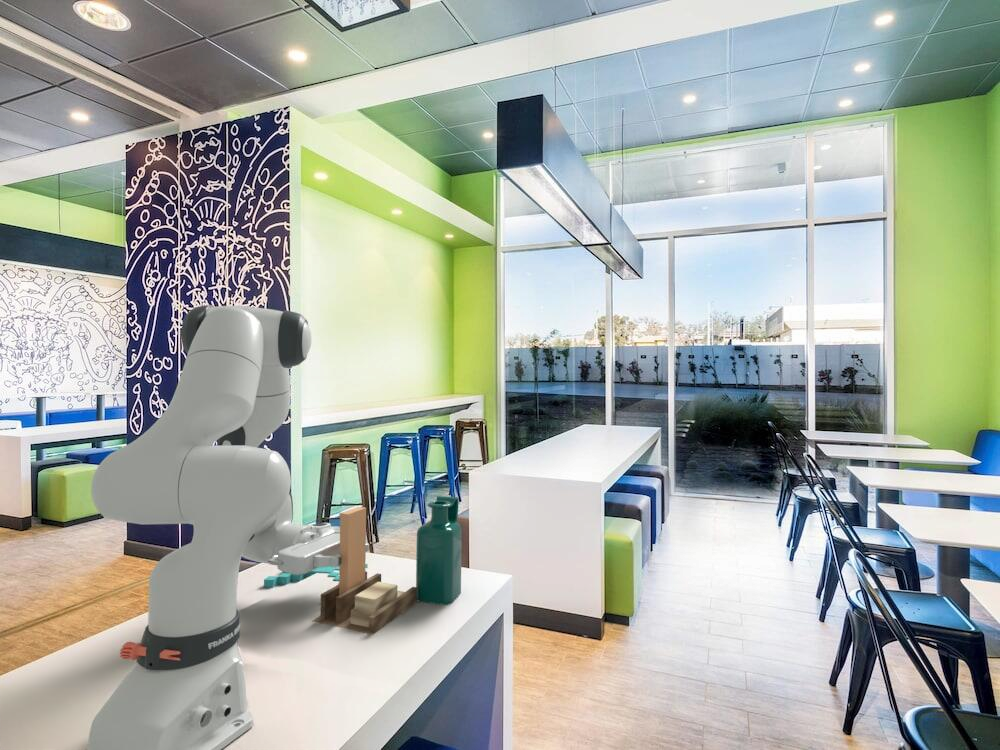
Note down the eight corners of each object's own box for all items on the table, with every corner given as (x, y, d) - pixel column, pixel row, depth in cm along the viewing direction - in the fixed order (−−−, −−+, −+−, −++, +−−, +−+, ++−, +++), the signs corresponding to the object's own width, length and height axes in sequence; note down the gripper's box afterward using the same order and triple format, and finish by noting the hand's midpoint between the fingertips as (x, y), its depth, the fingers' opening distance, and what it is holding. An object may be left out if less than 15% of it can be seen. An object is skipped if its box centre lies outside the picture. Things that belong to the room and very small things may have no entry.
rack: (373, 642, 103) (373, 607, 103) (311, 628, 108) (312, 595, 108) (416, 608, 118) (417, 577, 118) (360, 598, 123) (361, 568, 123)
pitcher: (450, 612, 116) (451, 507, 116) (412, 607, 118) (413, 504, 118) (465, 594, 126) (466, 497, 126) (430, 590, 128) (431, 494, 128)
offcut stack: (372, 628, 105) (372, 601, 105) (350, 623, 107) (350, 597, 107) (405, 604, 116) (405, 580, 116) (385, 600, 118) (385, 576, 118)
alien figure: (347, 593, 127) (375, 563, 146) (347, 583, 127) (376, 555, 146) (263, 589, 129) (302, 560, 148) (264, 579, 129) (303, 552, 148)
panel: (347, 614, 111) (348, 514, 111) (338, 613, 112) (340, 513, 112) (364, 603, 117) (366, 507, 117) (356, 601, 117) (358, 506, 117)
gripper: (262, 545, 109) (320, 554, 104) (330, 520, 128) (381, 527, 123) (262, 577, 109) (319, 588, 104) (329, 548, 128) (381, 555, 123)
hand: (353, 554), depth 114 cm, fingers open, 8 cm apart
